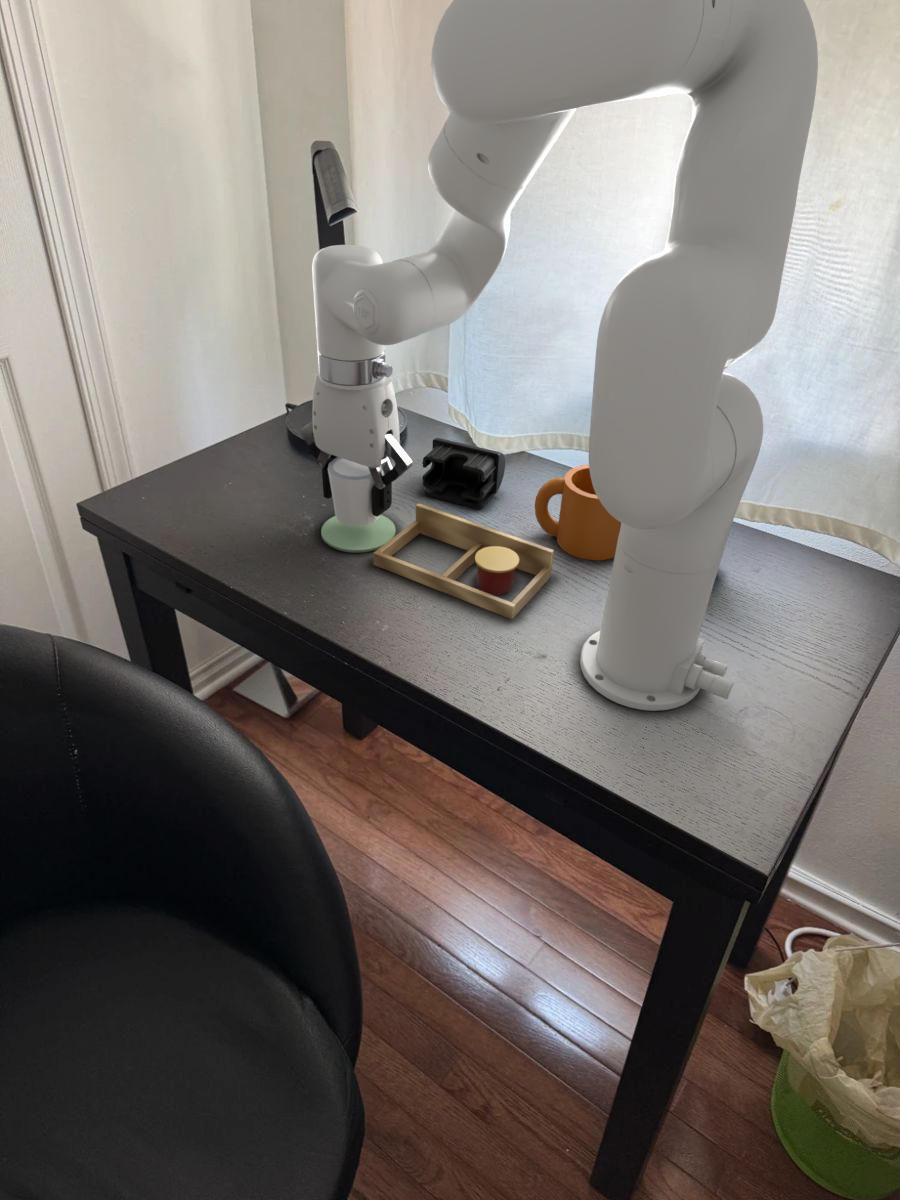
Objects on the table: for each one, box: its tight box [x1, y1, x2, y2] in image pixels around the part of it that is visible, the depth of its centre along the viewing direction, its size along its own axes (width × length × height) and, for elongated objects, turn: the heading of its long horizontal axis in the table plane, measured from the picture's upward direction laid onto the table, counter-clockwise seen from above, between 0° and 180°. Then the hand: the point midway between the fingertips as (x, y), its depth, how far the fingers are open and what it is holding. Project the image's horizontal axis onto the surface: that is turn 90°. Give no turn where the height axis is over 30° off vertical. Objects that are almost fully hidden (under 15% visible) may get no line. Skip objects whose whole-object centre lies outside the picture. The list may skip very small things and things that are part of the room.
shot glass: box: [328, 457, 384, 526], centre depth 99 cm, size 7×7×7 cm
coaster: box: [320, 514, 397, 554], centre depth 103 cm, size 10×10×1 cm
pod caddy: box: [372, 503, 555, 620], centre depth 95 cm, size 19×10×4 cm, turn 59°
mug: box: [534, 464, 621, 561], centre depth 101 cm, size 9×12×9 cm
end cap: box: [421, 437, 506, 510], centre depth 110 cm, size 10×7×7 cm
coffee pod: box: [474, 546, 519, 595], centre depth 94 cm, size 5×5×4 cm
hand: (357, 501), depth 100 cm, fingers closed on shot glass, 6 cm apart
